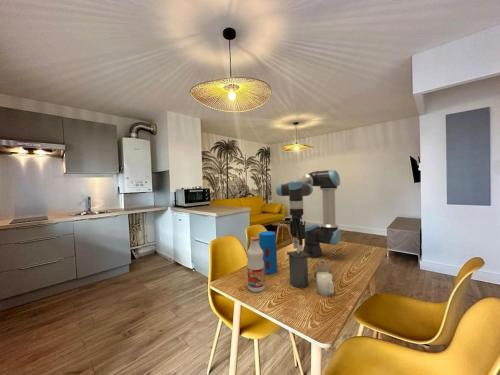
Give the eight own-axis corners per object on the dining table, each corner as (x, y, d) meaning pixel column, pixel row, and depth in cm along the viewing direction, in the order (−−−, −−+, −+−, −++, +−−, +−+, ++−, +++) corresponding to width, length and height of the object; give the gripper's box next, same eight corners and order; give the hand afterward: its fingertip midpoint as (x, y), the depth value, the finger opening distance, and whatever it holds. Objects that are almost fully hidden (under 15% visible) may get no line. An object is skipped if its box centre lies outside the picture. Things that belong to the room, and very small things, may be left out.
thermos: (276, 275, 129) (274, 235, 128) (259, 274, 131) (257, 235, 130) (277, 268, 140) (276, 231, 139) (261, 267, 142) (260, 231, 141)
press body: (299, 276, 126) (298, 248, 126) (312, 285, 114) (311, 255, 114) (285, 279, 123) (284, 251, 122) (296, 289, 111) (295, 258, 110)
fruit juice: (268, 287, 114) (266, 237, 113) (256, 294, 108) (254, 241, 107) (256, 282, 121) (254, 234, 120) (244, 288, 115) (242, 238, 114)
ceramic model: (332, 284, 114) (331, 266, 114) (311, 281, 119) (311, 264, 119) (334, 274, 127) (334, 258, 127) (315, 271, 132) (315, 255, 132)
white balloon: (326, 287, 112) (325, 270, 112) (339, 296, 103) (338, 278, 103) (314, 289, 110) (313, 273, 110) (326, 299, 100) (326, 281, 100)
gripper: (283, 207, 123) (284, 246, 124) (298, 210, 107) (300, 255, 108) (294, 206, 126) (295, 244, 126) (311, 209, 110) (312, 253, 110)
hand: (298, 249), depth 117 cm, fingers closed on plunger, 4 cm apart
